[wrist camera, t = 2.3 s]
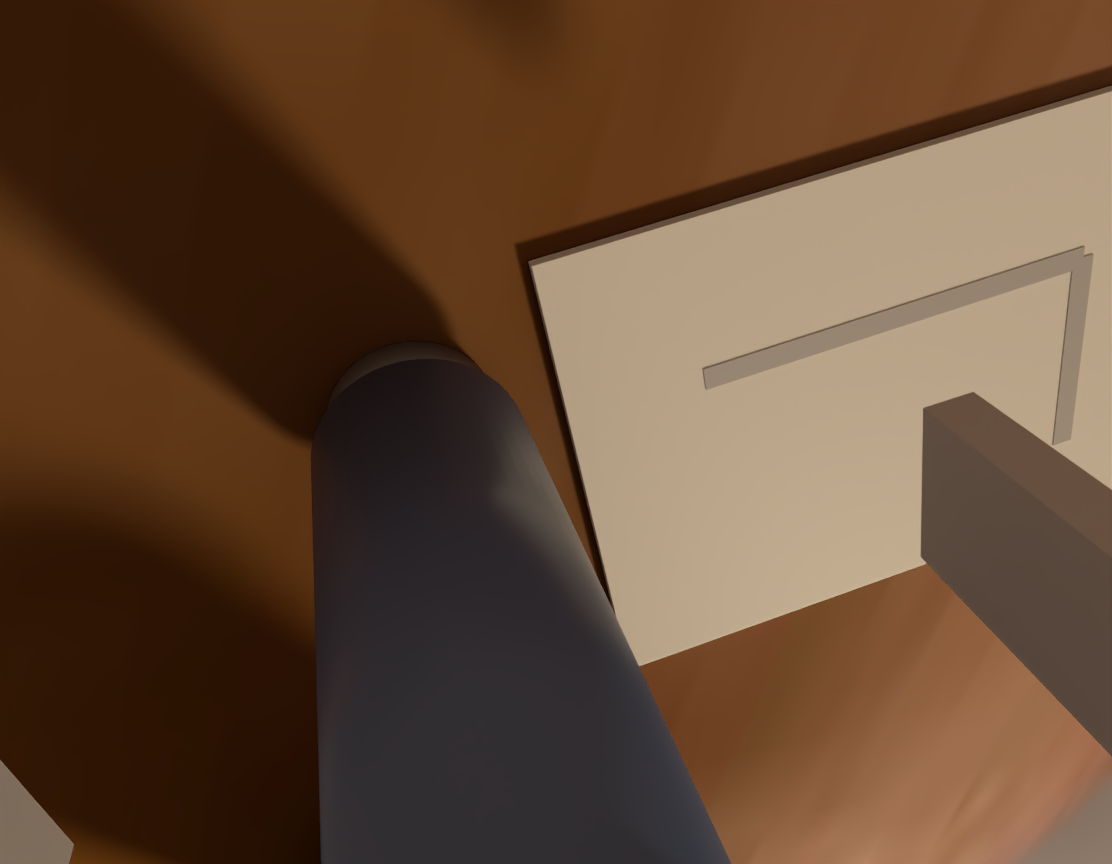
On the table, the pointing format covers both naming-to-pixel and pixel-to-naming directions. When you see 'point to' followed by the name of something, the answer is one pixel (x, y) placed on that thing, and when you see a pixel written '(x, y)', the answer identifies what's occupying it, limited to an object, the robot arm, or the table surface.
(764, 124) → the table surface
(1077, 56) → the table surface
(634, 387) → the paper
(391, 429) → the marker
